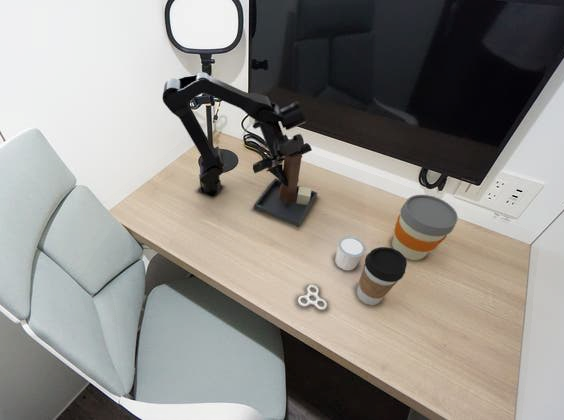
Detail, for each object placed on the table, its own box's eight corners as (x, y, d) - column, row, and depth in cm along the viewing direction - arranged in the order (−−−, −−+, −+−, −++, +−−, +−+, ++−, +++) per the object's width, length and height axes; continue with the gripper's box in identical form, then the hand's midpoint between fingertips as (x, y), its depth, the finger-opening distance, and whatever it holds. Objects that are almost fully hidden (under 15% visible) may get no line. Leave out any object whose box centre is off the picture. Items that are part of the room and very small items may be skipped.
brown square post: (279, 198, 103) (284, 152, 90) (288, 194, 104) (294, 148, 91) (286, 204, 101) (292, 158, 88) (294, 200, 102) (302, 154, 89)
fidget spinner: (297, 305, 78) (297, 304, 77) (299, 283, 82) (299, 282, 82) (326, 311, 77) (327, 309, 76) (326, 288, 81) (327, 286, 80)
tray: (253, 210, 102) (253, 204, 100) (274, 183, 112) (274, 178, 110) (298, 228, 96) (299, 222, 94) (316, 198, 106) (317, 192, 104)
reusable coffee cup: (436, 241, 91) (461, 204, 81) (428, 272, 84) (455, 236, 73) (391, 225, 96) (409, 188, 86) (380, 253, 89) (399, 216, 78)
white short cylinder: (341, 248, 90) (347, 232, 85) (363, 261, 87) (370, 245, 82) (328, 262, 87) (333, 246, 82) (350, 276, 84) (357, 261, 79)
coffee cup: (391, 309, 77) (415, 275, 66) (356, 309, 77) (374, 275, 66) (380, 280, 83) (400, 244, 72) (347, 280, 83) (363, 244, 72)
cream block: (296, 203, 103) (297, 194, 100) (297, 195, 106) (299, 186, 103) (308, 205, 102) (310, 196, 100) (309, 197, 105) (311, 188, 102)
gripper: (259, 137, 84) (280, 191, 85) (312, 118, 91) (332, 168, 92) (243, 148, 95) (262, 196, 96) (292, 130, 101) (310, 175, 102)
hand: (292, 184), depth 96 cm, fingers closed on brown square post, 3 cm apart
